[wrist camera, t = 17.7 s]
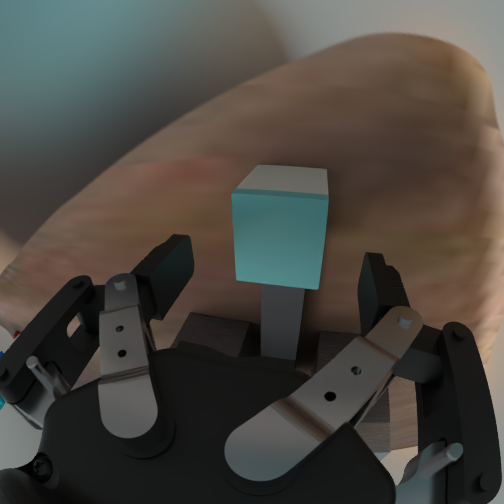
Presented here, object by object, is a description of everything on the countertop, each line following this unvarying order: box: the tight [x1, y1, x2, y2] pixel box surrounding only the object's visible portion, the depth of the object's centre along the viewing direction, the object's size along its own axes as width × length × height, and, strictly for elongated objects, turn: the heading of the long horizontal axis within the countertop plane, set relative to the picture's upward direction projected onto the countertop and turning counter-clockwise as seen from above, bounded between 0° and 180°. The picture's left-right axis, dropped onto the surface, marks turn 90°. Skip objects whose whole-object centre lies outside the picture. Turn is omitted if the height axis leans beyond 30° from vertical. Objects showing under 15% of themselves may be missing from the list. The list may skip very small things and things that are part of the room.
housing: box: [170, 313, 390, 461], centre depth 22 cm, size 18×8×12 cm, turn 92°
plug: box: [231, 165, 329, 360], centre depth 20 cm, size 4×21×6 cm, turn 1°
